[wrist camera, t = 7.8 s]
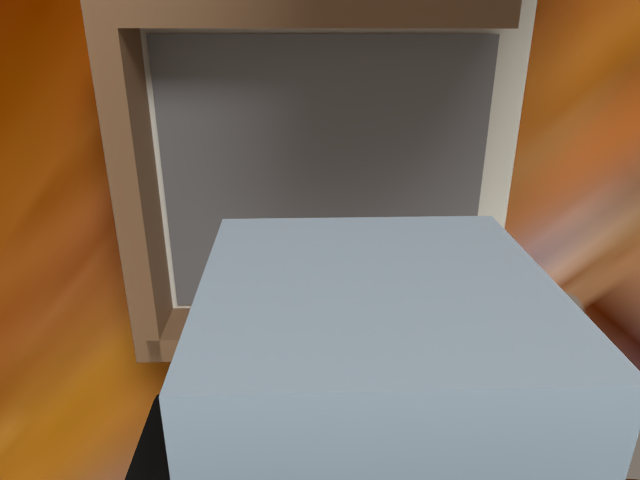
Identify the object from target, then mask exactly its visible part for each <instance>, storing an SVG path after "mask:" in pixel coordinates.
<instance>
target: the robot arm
mask: <svg viewBox="0 0 640 480" xmlns="http://www.w3.org/2000/svg"><path fill="white" fill-rule="evenodd" d="M159 395H160V394H158V395H157V396H156V398H155V400H154V402H153V404H152V407H151V410H150V413H149V415H148V418H147V421H146V423H145V426H144V429H143V432H142V434H141V437H140V440H139V442H138V445H137V448H136V451H135V453H134V456H133V459H132V462H131V464H130V467H129V470H128V472H127V475H126V478H125V480H170V474H169V467H168V460H167V453H166V445H165V438H164V431H163V424H162V417H161V410H160V403H159ZM626 480H635V479H626Z"/></svg>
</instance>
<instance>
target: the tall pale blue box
mask: <svg viewBox="0 0 640 480" xmlns="http://www.w3.org/2000/svg"><path fill="white" fill-rule="evenodd" d="M159 403H160V410H161V417H162V424H163V431H164V438H165V445H166V453H167V460H168V467H169V474H170V480H626V476H627V473H628V470H629V466H630V463H631V459H632V456H633V452H634V449H635V446H636V442H637V439H638V435H639V432H640V371H639V370H638V369H637V368H636V367H635V366H634V365H633V364H632V363H631V362H630V361H629V359H628V358H627V357H626V356H625V355H624V354H623V353H622V352H621V351H620V350H619V349H618V348H617V347H616V346H615V345H614V344H613V343H612V342H611V341H610V340H609V338H608V337H607V336H606V335H605V334H604V333H603V332H602V331H601V330H600V329H599V328H598V327H597V326H596V325H595V324H594V323H593V322H592V321H591V320H590V318H589V317H588V316H587V315H586V314H585V313H584V312H583V311H582V310H581V309H580V308H579V307H578V306H577V305H576V304H575V303H574V302H573V301H572V300H571V299H570V297H569V296H568V295H567V294H566V293H565V292H564V291H563V290H562V289H561V288H560V287H559V286H558V285H557V284H556V283H555V282H554V281H553V280H552V279H551V277H550V276H549V275H548V274H547V273H546V272H545V271H544V270H543V269H542V268H541V267H540V266H539V265H538V264H537V263H536V262H535V261H534V260H533V259H532V258H531V256H530V255H529V254H528V253H527V252H526V251H525V250H524V249H523V248H522V247H521V246H520V245H519V244H518V243H517V242H516V241H515V240H514V239H513V238H512V236H511V235H510V234H509V233H508V232H507V231H506V230H505V229H504V228H503V227H502V226H501V225H500V224H499V223H498V222H497V221H496V220H495V219H494V218H493V217H492V216H427V217H343V218H258V219H222V222H221V225H220V228H219V231H218V233H217V236H216V239H215V242H214V244H213V247H212V250H211V253H210V256H209V258H208V261H207V264H206V267H205V270H204V272H203V275H202V278H201V281H200V283H199V286H198V289H197V292H196V295H195V297H194V300H193V303H192V306H191V309H190V311H189V314H188V317H187V320H186V323H185V325H184V328H183V331H182V334H181V336H180V339H179V342H178V345H177V348H176V350H175V353H174V356H173V359H172V362H171V364H170V367H169V370H168V373H167V375H166V378H165V381H164V384H163V387H162V389H161V392H160V395H159Z"/></svg>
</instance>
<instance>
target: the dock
mask: <svg viewBox="0 0 640 480" xmlns="http://www.w3.org/2000/svg"><path fill="white" fill-rule="evenodd" d="M80 2H81V8H82V14H83V21H84V27H85V34H86V40H87V47H88V53H89V59H90V66H91V72H92V79H93V85H94V92H95V98H96V104H97V111H98V117H99V124H100V130H101V137H102V143H103V149H104V156H105V162H106V169H107V175H108V182H109V188H110V194H111V201H112V207H113V214H114V220H115V227H116V233H117V239H118V246H119V252H120V259H121V265H122V272H123V278H124V284H125V291H126V297H127V304H128V310H129V317H130V323H131V329H132V336H133V342H134V349H135V355H136V362H137V363H140V362H172V359H173V356H174V353H175V350H176V348H177V345H178V342H179V339H180V336H181V334H182V331H183V328H184V325H185V323H186V320H187V317H188V314H189V311H190V309H191V306H192V303H193V300H194V297H195V295H196V292H197V289H198V286H199V283H200V281H201V278H202V275H203V272H204V270H205V267H206V264H207V261H208V258H209V256H210V253H211V250H212V247H213V244H214V242H215V239H216V236H217V233H218V231H219V228H220V225H221V222H222V219H258V218H343V217H427V216H492V217H493V218H494V219H495V220H496V221H497V222H498V223H499V224H500V225H501V226H502V227H503V228H505V221H506V214H507V207H508V200H509V193H510V186H511V179H512V172H513V165H514V158H515V151H516V145H517V138H518V131H519V124H520V117H521V110H522V103H523V96H524V89H525V82H526V75H527V68H528V61H529V54H530V48H531V41H532V34H533V27H534V20H535V13H536V6H537V0H80Z"/></svg>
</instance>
